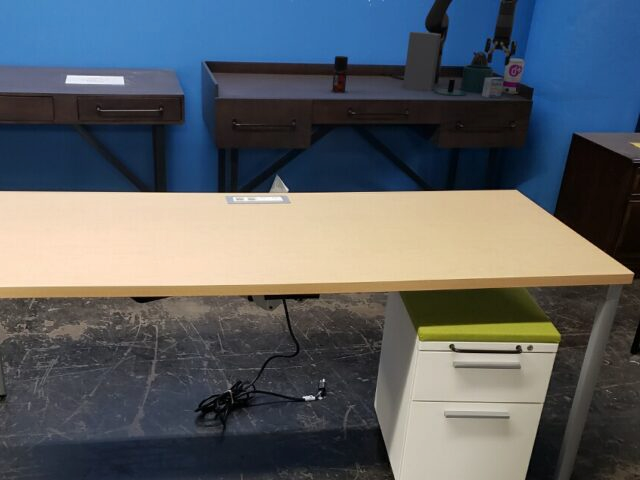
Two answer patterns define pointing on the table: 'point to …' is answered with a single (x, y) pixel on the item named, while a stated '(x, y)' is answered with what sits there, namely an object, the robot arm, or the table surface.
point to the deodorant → (340, 74)
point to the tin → (475, 77)
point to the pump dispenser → (479, 59)
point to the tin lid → (450, 90)
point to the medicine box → (493, 87)
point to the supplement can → (512, 75)
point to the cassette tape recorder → (421, 60)
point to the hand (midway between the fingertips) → (497, 64)
